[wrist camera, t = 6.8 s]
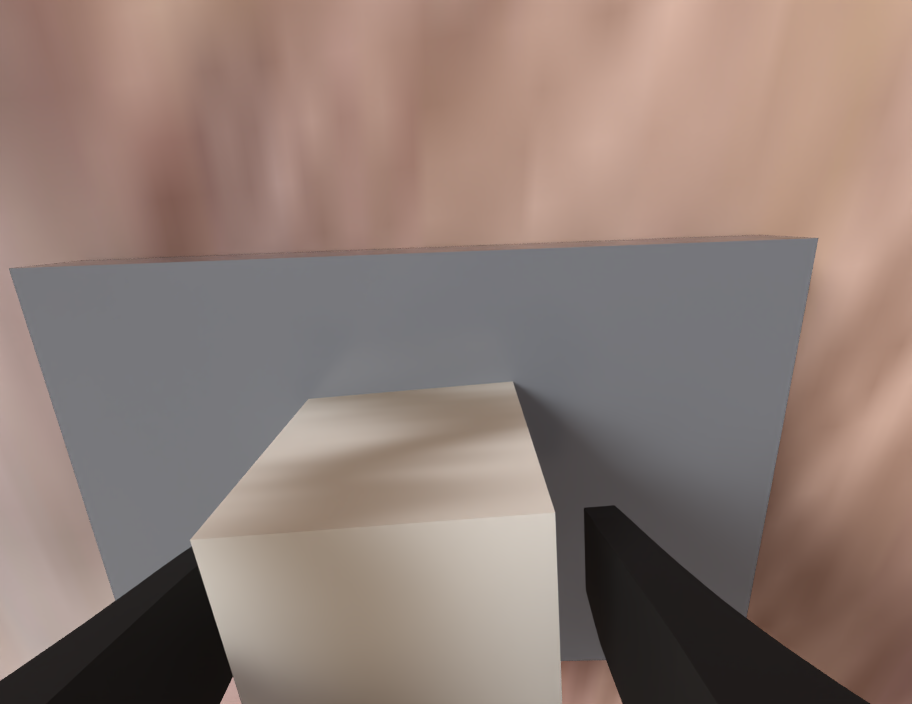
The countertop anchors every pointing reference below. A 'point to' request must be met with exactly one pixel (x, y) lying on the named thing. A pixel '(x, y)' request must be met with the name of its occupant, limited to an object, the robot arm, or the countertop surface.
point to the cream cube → (390, 556)
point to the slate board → (437, 380)
